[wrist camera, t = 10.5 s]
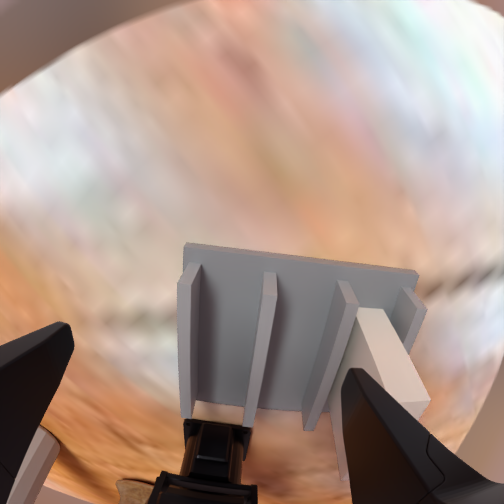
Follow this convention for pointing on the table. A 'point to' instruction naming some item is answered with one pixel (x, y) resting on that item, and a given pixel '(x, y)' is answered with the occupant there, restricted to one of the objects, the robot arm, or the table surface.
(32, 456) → the water bottle
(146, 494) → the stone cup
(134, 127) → the table surface
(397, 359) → the beige upright tile
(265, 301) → the dish rack
